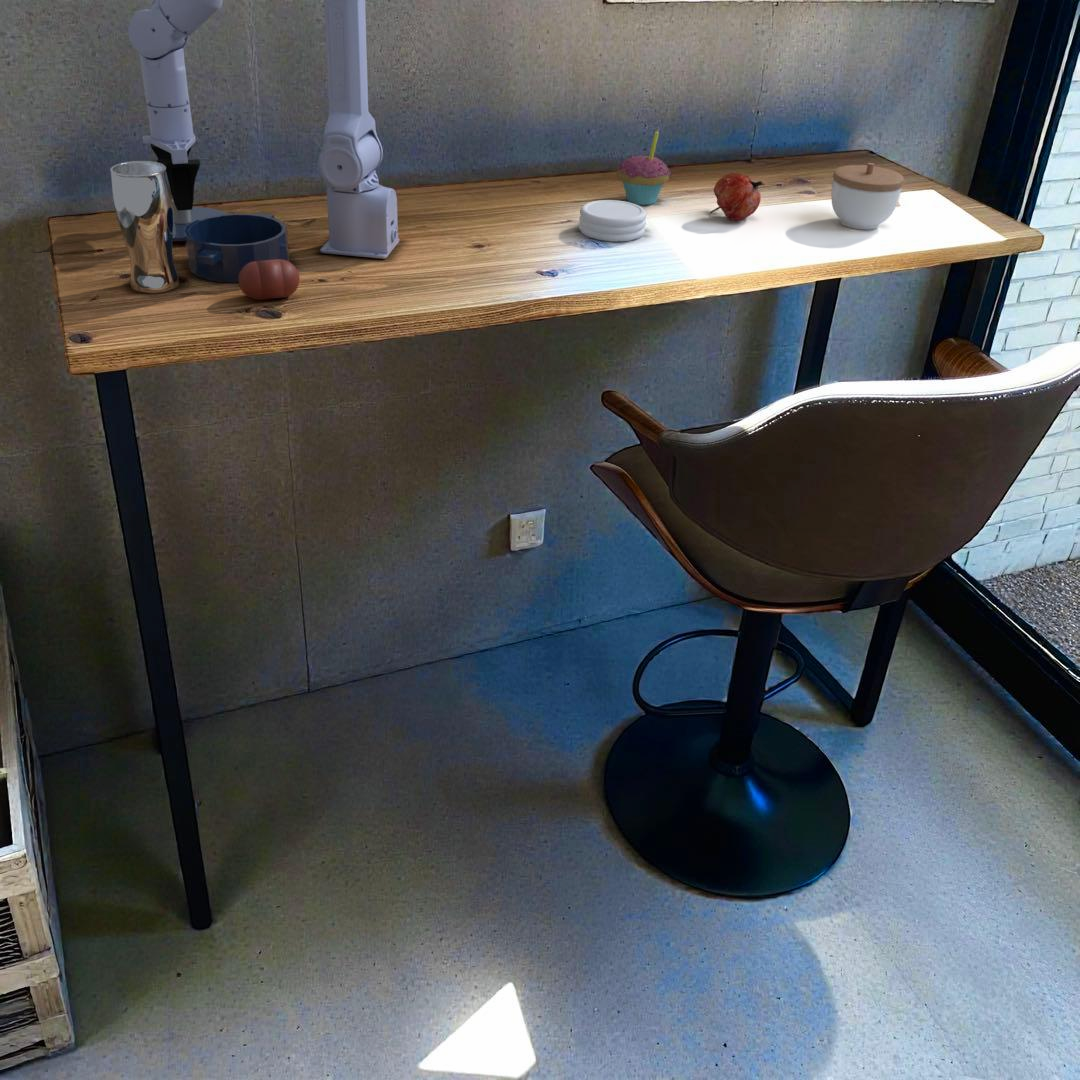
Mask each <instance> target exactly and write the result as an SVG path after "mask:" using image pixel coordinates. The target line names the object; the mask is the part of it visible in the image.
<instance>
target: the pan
mask: <svg viewBox="0 0 1080 1080" xmlns="http://www.w3.org/2000/svg"><path fill="white" fill-rule="evenodd" d="M184 235H185V241H184V242H185V243H184V244H185V249H186V258H187V264H188V268H189V272H191V273H192V274H193V275H194V276H196V277H198V278H201V279H203V280H207V281H211V282H218V283H230V284H233V283H234V284H239V280H238V279H239V274H240V271H241V270H242V268H243V267H244V266H245V265H246V264H248V263H250V262H254V261H263V260H275V259H282V260H286V261H288V262H290V252H289V251H290V250H289V238H288V228H287V226H286V224H285V223H284V222H283V221H281V220H279V219H278V218H275V214H269V213H261V212H258V213H227V214H223V215H216V216H211V217H206V218H203V219H200V220H197V221H194V222H192V223H191V224H189V225H187V227H186V229H185V230H184Z"/></svg>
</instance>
